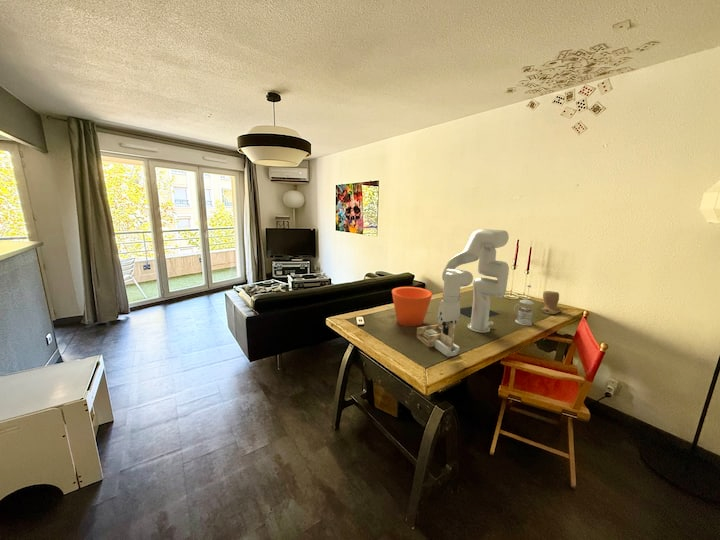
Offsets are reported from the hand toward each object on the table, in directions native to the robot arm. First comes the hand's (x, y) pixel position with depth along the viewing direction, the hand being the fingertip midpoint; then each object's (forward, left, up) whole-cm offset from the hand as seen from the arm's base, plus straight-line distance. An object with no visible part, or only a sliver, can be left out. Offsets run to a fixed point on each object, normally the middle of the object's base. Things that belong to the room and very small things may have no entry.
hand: (447, 333), depth 132 cm
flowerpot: (-4, -40, -10) cm, 41 cm away
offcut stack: (+1, -12, -9) cm, 15 cm away
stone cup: (-111, -22, -11) cm, 113 cm away
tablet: (-58, -39, -11) cm, 71 cm away
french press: (-73, -15, -10) cm, 75 cm away
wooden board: (0, 0, -6) cm, 6 cm away
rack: (-1, -12, -10) cm, 15 cm away
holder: (0, 0, -10) cm, 10 cm away
